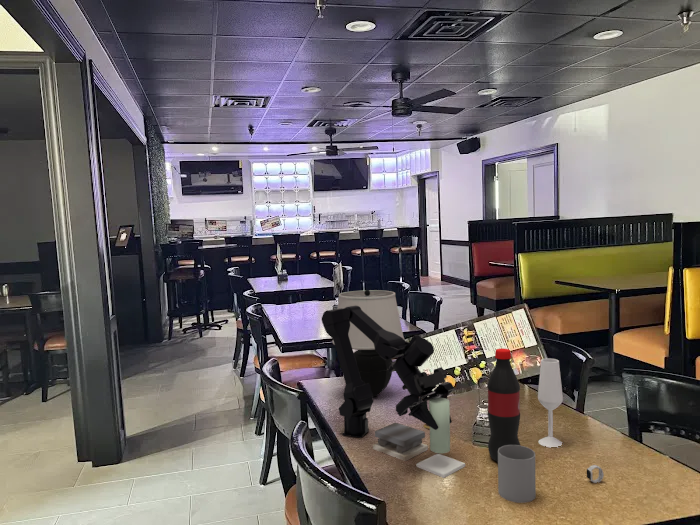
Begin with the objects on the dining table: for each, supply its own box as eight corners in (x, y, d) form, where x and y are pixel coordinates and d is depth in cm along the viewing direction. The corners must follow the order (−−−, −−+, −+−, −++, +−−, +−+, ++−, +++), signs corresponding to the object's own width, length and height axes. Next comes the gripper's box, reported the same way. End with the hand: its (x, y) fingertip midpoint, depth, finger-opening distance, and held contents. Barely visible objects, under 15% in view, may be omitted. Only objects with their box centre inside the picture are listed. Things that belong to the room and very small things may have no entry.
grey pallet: (372, 448, 153) (372, 431, 153) (395, 438, 160) (395, 421, 160) (405, 461, 145) (404, 442, 144) (427, 449, 152) (427, 431, 151)
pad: (416, 466, 141) (416, 463, 141) (438, 456, 147) (438, 453, 147) (443, 477, 134) (443, 474, 134) (465, 466, 140) (465, 463, 140)
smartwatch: (600, 479, 131) (600, 463, 131) (605, 483, 129) (605, 467, 129) (586, 480, 131) (585, 464, 131) (591, 484, 129) (590, 468, 129)
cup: (493, 486, 130) (492, 445, 129) (526, 483, 130) (526, 443, 130) (506, 504, 121) (506, 461, 120) (541, 501, 122) (541, 458, 121)
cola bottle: (521, 454, 147) (520, 346, 145) (520, 467, 139) (519, 353, 137) (489, 450, 150) (487, 344, 148) (486, 463, 142) (485, 352, 140)
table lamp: (319, 396, 203) (315, 291, 200) (370, 380, 221) (367, 284, 218) (369, 412, 183) (366, 296, 180) (420, 394, 201) (418, 288, 199)
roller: (430, 453, 138) (429, 403, 137) (430, 444, 144) (429, 397, 143) (450, 453, 138) (449, 404, 137) (449, 445, 143) (448, 397, 142)
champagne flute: (566, 442, 154) (566, 359, 152) (557, 449, 149) (557, 364, 147) (544, 436, 158) (543, 356, 157) (534, 443, 153) (533, 361, 152)
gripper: (402, 366, 136) (438, 419, 128) (448, 352, 148) (483, 400, 141) (381, 390, 142) (413, 442, 135) (427, 375, 155) (458, 422, 147)
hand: (443, 426), depth 139 cm, fingers closed on roller, 5 cm apart
